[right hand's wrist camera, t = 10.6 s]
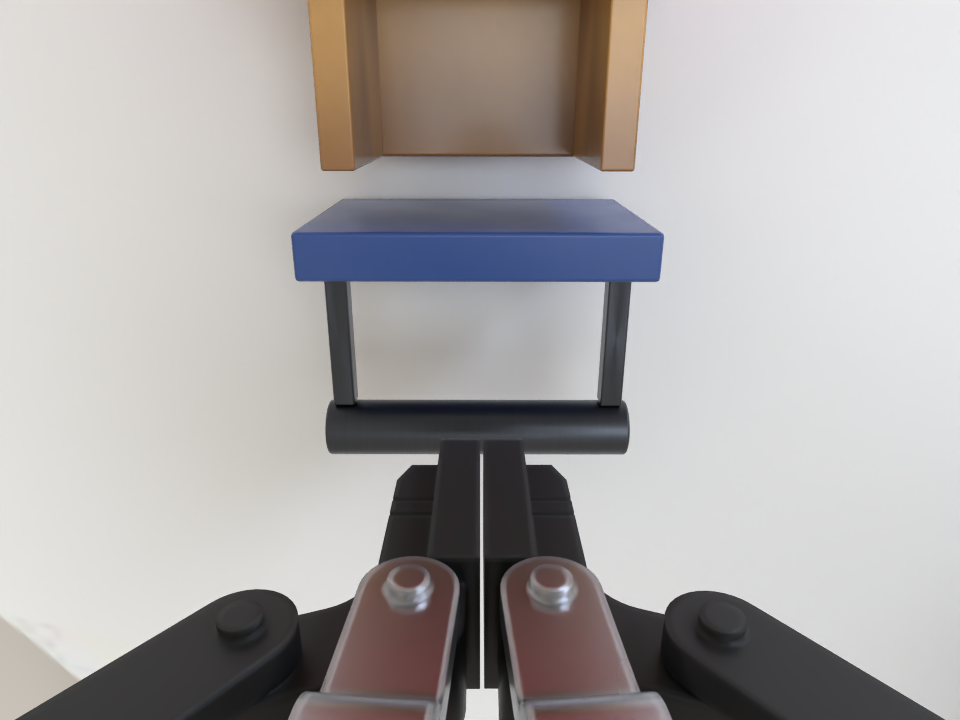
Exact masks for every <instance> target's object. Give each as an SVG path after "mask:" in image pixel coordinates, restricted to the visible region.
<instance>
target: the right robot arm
mask: <svg viewBox="0 0 960 720" xmlns="http://www.w3.org/2000/svg"><path fill="white" fill-rule="evenodd" d="M483 571H484V688H498V698H499V720H945V719H943V718H941V717H939V716H938V715H936V714H934V713H933V712H931V711H929V710H928V709H926V708H924V707H923V706H921V705H919V704H918V703H916V702H914V701H913V700H911V699H909V698H908V697H906V696H904V695H903V694H901V693H899V692H898V691H896V690H894V689H893V688H891V687H889V686H888V685H886V684H884V683H882V682H881V681H879V680H877V679H876V678H874V677H872V676H871V675H869V674H867V673H866V672H864V671H862V670H861V669H859V668H857V667H856V666H854V665H852V664H851V663H849V662H847V661H846V660H844V659H842V658H841V657H839V656H837V655H836V654H834V653H832V652H831V651H829V650H827V649H826V648H824V647H822V646H820V645H819V644H817V643H815V642H814V641H812V640H810V639H809V638H807V637H805V636H804V635H802V634H800V633H799V632H797V631H795V630H794V629H792V628H790V627H789V626H787V625H785V624H784V623H782V622H780V621H779V620H777V619H775V618H774V617H772V616H770V615H769V614H767V613H765V612H763V611H762V610H760V609H758V608H757V607H755V606H753V605H752V604H750V603H748V602H746V601H744V600H742V599H740V598H737V597H735V596H732V595H728V594H725V593H720V592H714V591H695V592H689V593H686V594H683V595H681V596H679V597H677V598H675V599H674V600H673V601H672V602H671V603H670V604H669V605H668V607H667V609H666V612H665V615H664V614H660V613H656V612H652V611H647V610H643V609H639V608H635V607H632V606H628V605H626V604H623V603H621V602H619V601H617V600H615V599H613V598H611V597H610V596H608V595H607V594H605V593H604V592H603V589H602V586H601V584H600V582H599V580H598V579H597V577H596V576H595V575H594V574H593V573H592V572H591V571H590V570H589V569H587V567H586V562H585V558H584V554H583V549H582V545H581V541H580V536H579V532H578V528H577V524H576V519H575V515H574V511H573V506H572V502H571V501H570V493H569V489H568V485H567V481H566V479H565V478H564V477H563V476H562V475H561V474H560V473H559V472H558V471H557V470H556V469H555V468H554V467H553V466H552V465H526V463H525V455H524V447H523V440H522V439H483ZM466 689H480V439H441V443H440V451H439V460H438V465H412V466H411V467H410V468H409V469H408V470H407V471H406V472H405V473H404V474H403V475H402V476H401V477H400V478H399V479H398V480H397V483H396V488H395V492H394V497H393V501H392V506H391V510H390V515H389V519H388V524H387V528H386V533H385V537H384V542H383V546H382V550H381V555H380V559H379V564H378V565H377V566H376V567H374V568H373V569H371V570H370V571H369V572H368V573H367V574H366V575H365V576H364V577H363V579H362V580H361V582H360V584H359V586H358V589H357V592H356V594H355V597H354V598H352V599H350V600H348V601H346V602H344V603H342V604H339V605H337V606H334V607H330V608H327V609H323V610H319V611H314V612H310V613H306V614H302V615H298V612H297V609H296V606H295V605H294V603H293V602H292V601H291V600H290V599H289V598H288V597H286V596H285V595H283V594H281V593H278V592H275V591H270V590H260V589H255V590H245V591H240V592H236V593H233V594H229V595H227V596H224V597H222V598H219V599H217V600H215V601H214V602H212V603H210V604H208V605H207V606H205V607H203V608H202V609H200V610H198V611H197V612H195V613H193V614H192V615H190V616H188V617H186V618H185V619H183V620H181V621H180V622H178V623H176V624H175V625H173V626H171V627H170V628H168V629H166V630H165V631H163V632H161V633H160V634H158V635H156V636H155V637H153V638H151V639H150V640H148V641H146V642H145V643H143V644H141V645H140V646H138V647H136V648H135V649H133V650H131V651H129V652H128V653H126V654H124V655H123V656H121V657H119V658H118V659H116V660H114V661H113V662H111V663H109V664H108V665H106V666H104V667H103V668H101V669H99V670H98V671H96V672H94V673H93V674H91V675H89V676H88V677H86V678H84V679H83V680H81V681H79V682H78V683H76V684H74V685H72V686H71V687H69V688H68V689H66V690H64V691H62V692H61V693H59V694H57V695H56V696H54V697H52V698H51V699H49V700H47V701H46V702H44V703H42V704H41V705H39V706H37V707H36V708H34V709H32V710H31V711H29V712H27V713H26V714H24V715H22V716H21V717H19V718H17V719H16V720H464V717H465V712H466Z"/></svg>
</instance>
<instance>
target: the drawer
mask: <svg viewBox="0 0 960 720" xmlns="http://www.w3.org/2000/svg"><path fill="white" fill-rule="evenodd" d="M647 6H648V0H308V10H309V22H310V35H311V48H312V61H313V73H314V86H315V99H316V111H317V124H318V137H319V149H320V162H321V169H322V170H323V171H354V170H356V169H358V168H360V167H362V166H364V165H366V164H368V163H370V162H372V161H374V160H376V159H378V158H380V157H382V156H494V157H576V158H578V159H580V160H581V161H583V162H585V163H587V164H589V165H591V166H593V167H595V168H597V169H599V170H601V171H634V167H635V155H636V143H637V130H638V118H639V105H640V93H641V80H642V68H643V55H644V43H645V30H646V18H647ZM291 239H292V249H293V260H294V270H295V278H296V280H297V281H324V284H325V297H326V309H327V321H328V333H329V345H330V358H331V370H332V382H333V394H334V400H332V401H331V402H330V403H329V406H328V409H327V415H326V428H325V430H326V443H327V448H328V451H329V452H330V453H331V454H439V451H440V443H441V439H480V454H483V439H522V440H523V447H524V454H625V453H626V451H627V448H628V444H629V435H630V424H629V414H628V409H627V406H626V403H625V402H624V401H622V388H623V376H624V364H625V352H626V340H627V328H628V316H629V304H630V292H631V282H657V281H659V279H660V272H661V262H662V252H663V242H664V235H663V233H661V232H660V231H658V230H657V229H655V228H654V227H652V226H651V225H650V224H648V223H647V222H645V221H644V220H642V219H641V218H639V217H638V216H637V215H635V214H634V213H632V212H631V211H629V210H628V209H626V208H625V207H623V206H622V205H621V204H619V203H618V202H616V201H615V200H565V199H343V200H341V201H339V202H338V203H336V204H335V205H333V206H332V207H330V208H329V209H327V210H326V211H324V212H323V213H321V214H320V215H318V216H317V217H315V218H314V219H312V220H311V221H309V222H308V223H306V224H305V225H303V226H302V227H301V228H299V229H298V230H296V231H295V232H293V233H292V235H291ZM350 281H403V282H605V294H604V309H603V323H602V337H601V352H600V366H599V380H598V395H597V398H598V400H357V398H358V391H357V376H356V362H355V347H354V332H353V317H352V303H351V288H350Z"/></svg>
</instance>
